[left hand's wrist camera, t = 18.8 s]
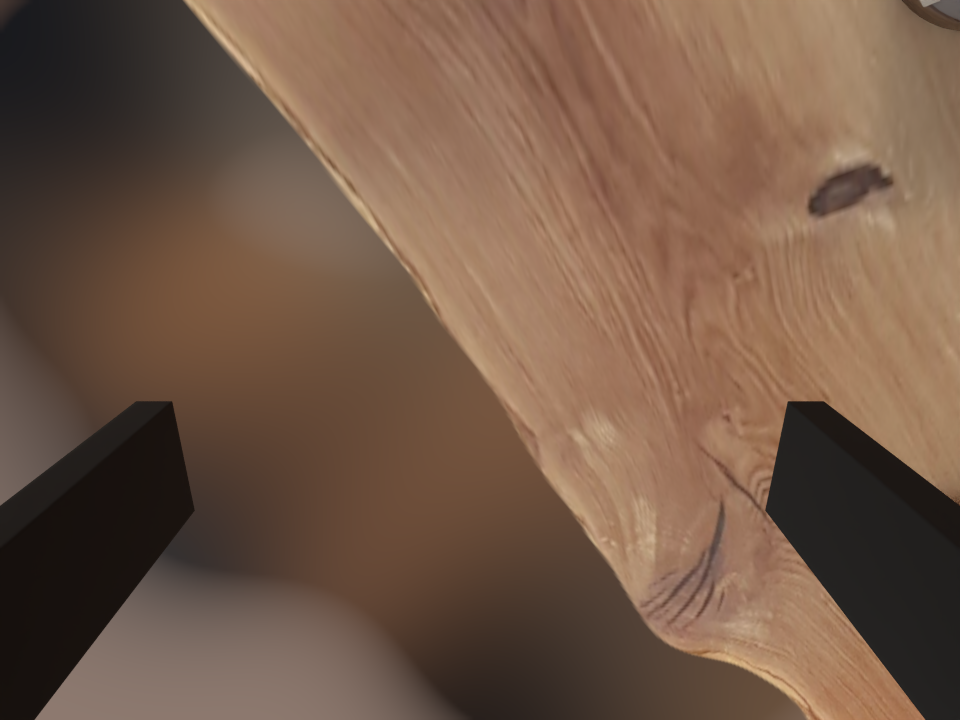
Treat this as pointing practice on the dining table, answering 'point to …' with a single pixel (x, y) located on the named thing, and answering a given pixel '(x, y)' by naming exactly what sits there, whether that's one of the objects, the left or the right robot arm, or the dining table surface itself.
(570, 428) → the dining table surface
